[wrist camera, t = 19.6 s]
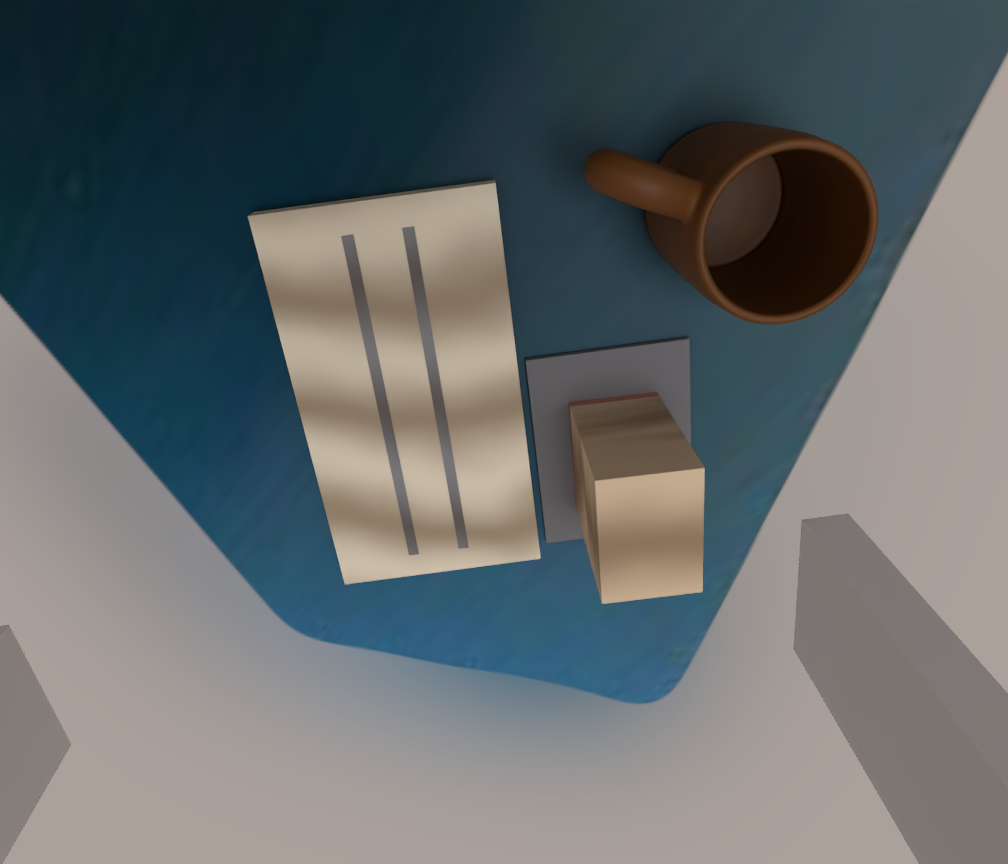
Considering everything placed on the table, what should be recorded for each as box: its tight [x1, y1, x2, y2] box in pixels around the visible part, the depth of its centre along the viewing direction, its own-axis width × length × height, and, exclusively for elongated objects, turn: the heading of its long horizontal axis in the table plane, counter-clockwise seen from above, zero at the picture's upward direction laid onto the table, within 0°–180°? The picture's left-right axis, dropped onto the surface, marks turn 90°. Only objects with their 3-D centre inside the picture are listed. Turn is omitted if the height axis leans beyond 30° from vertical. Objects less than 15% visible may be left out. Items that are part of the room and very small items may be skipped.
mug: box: [584, 122, 878, 324], centre depth 33 cm, size 12×8×9 cm, turn 72°
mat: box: [525, 337, 691, 543], centre depth 44 cm, size 12×9×1 cm
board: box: [248, 180, 541, 584], centre depth 41 cm, size 22×12×1 cm, turn 7°
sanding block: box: [569, 392, 705, 604], centre depth 39 cm, size 7×5×9 cm
